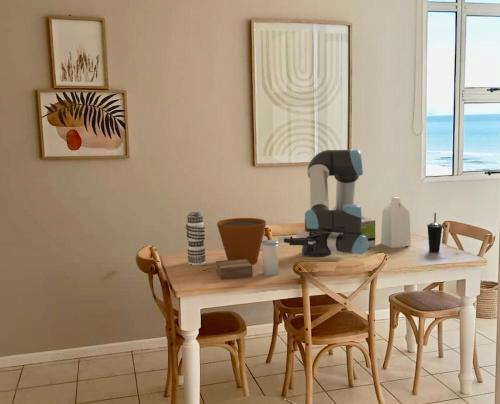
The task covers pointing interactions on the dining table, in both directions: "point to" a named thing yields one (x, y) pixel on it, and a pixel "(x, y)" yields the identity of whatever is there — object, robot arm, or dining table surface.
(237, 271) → the pedestal
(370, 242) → the tea box
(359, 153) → the robot arm
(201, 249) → the striped cylindrical tower
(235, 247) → the flower pot
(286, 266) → the dining table surface
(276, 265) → the glass jar
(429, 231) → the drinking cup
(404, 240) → the milk
